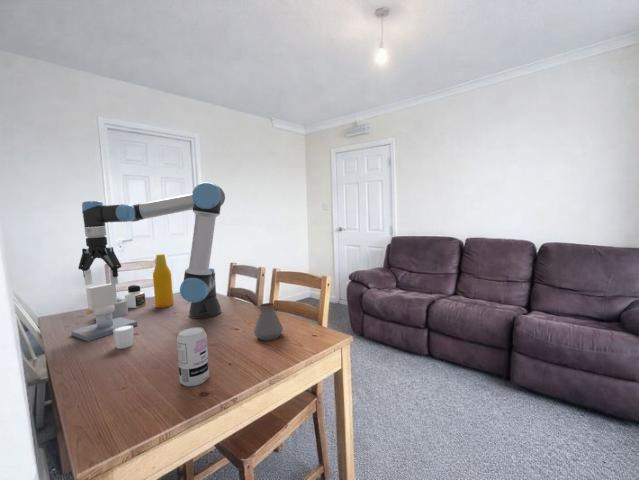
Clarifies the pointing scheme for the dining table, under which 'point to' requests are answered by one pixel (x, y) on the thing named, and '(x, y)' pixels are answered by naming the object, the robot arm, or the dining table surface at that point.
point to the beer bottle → (162, 283)
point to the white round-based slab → (101, 299)
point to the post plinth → (101, 331)
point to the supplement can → (192, 356)
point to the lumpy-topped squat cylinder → (120, 308)
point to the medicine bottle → (135, 297)
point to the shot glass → (123, 336)
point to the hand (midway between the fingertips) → (101, 284)
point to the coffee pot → (267, 321)
